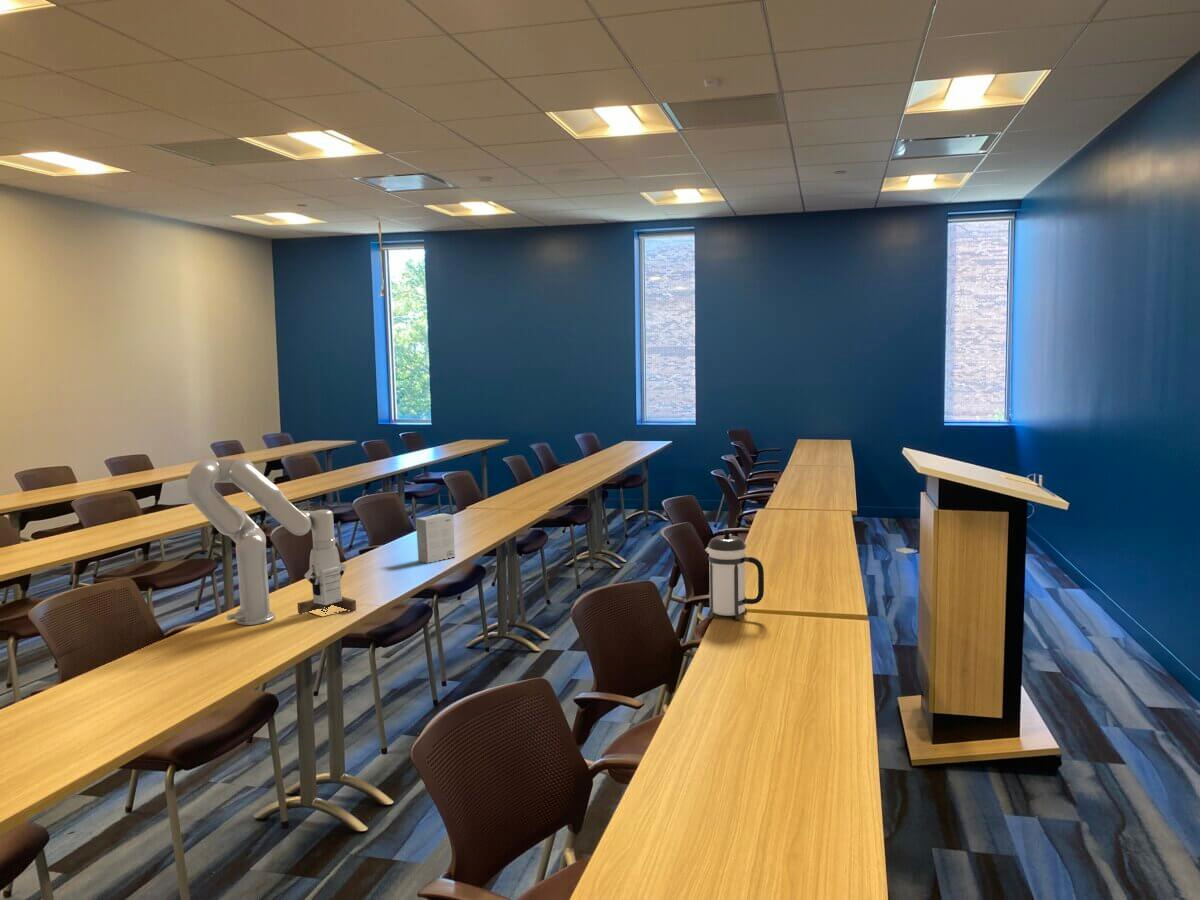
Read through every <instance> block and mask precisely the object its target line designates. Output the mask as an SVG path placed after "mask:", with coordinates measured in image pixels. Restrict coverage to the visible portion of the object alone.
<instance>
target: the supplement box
mask: <svg viewBox="0 0 1200 900" xmlns="http://www.w3.org/2000/svg"><path fill="white" fill-rule="evenodd" d="M312 574H315V572H313V573H312ZM315 575H316V574H315ZM310 576H311V575H310ZM313 576H314V575H313ZM313 576H311V578H313ZM316 578H317V577H316ZM340 583H341V579H340V572H339V567H335V568H330V569H326V570H322V571H320V577H319V582H318V584H319V585H320V595H319V596H318V595H314V593H313V592H312V599H313V601H314V603H318V604H323V605H328V604H332V603H336V602H339V601H342V597H343V596H342V586H341V585H342V584H340ZM311 588H312V590H313V584H311Z"/></svg>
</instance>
